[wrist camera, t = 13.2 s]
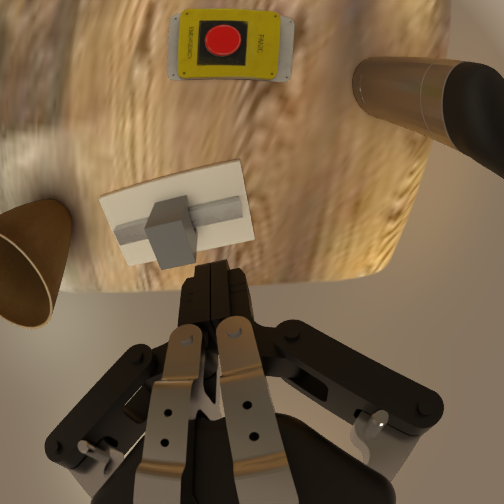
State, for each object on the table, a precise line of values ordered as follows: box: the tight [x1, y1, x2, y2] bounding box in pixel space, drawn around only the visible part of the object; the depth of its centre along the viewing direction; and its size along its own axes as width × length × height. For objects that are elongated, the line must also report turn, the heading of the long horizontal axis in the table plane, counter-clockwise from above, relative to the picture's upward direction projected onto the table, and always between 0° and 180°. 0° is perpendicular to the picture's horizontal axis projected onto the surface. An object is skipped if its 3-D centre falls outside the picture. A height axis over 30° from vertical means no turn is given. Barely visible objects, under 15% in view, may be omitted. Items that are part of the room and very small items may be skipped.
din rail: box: [113, 196, 243, 246], centre depth 36 cm, size 18×2×2 cm, turn 99°
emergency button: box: [167, 8, 295, 82], centre depth 24 cm, size 9×4×15 cm
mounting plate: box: [98, 159, 255, 266], centre depth 37 cm, size 20×12×1 cm, turn 99°
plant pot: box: [0, 199, 72, 329], centre depth 28 cm, size 15×15×16 cm
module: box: [144, 195, 198, 270], centre depth 34 cm, size 4×6×7 cm
